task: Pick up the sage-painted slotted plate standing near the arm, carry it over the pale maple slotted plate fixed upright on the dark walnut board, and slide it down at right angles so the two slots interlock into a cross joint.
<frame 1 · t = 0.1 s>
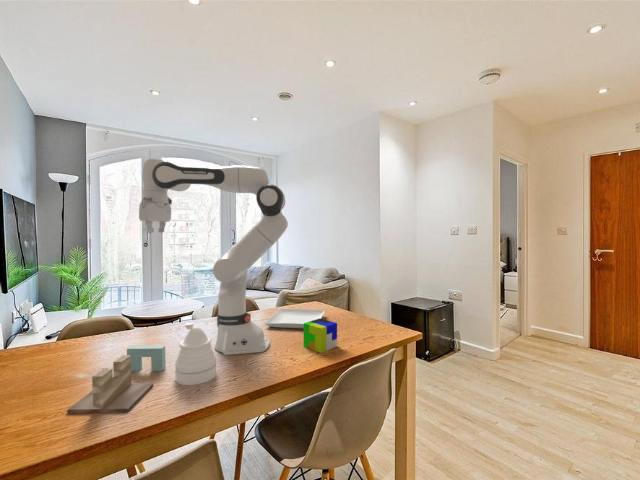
hand: (156, 232, 131), 48 cm above the table, tool pointing down, fingers open, 8 cm apart
puzzle toy: (320, 347, 134), on the table
square plate: (297, 323, 169), on the table
honey pot: (196, 376, 107), on the table
cross plate: (146, 369, 112), on the table
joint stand: (113, 398, 93), on the table
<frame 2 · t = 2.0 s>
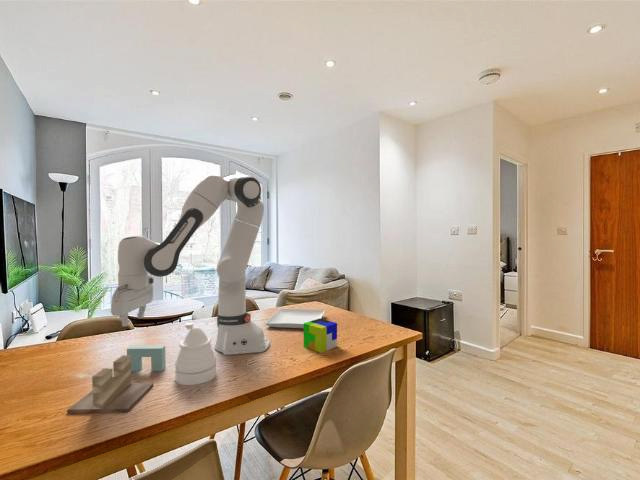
hand: (133, 321, 111), 17 cm above the table, tool pointing down, fingers open, 8 cm apart
nothing on the table moved.
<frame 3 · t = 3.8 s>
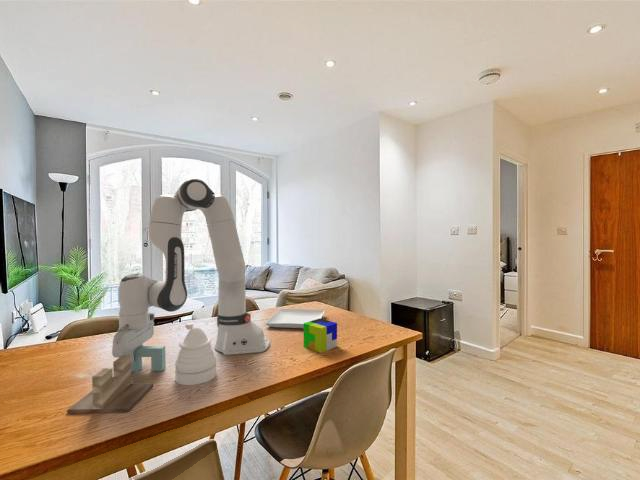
hand: (134, 359, 111), 4 cm above the table, tool pointing down, fingers closed on cross plate, 2 cm apart
cross plate: (146, 369, 112), on the table, touching gripper
everything else where it was.
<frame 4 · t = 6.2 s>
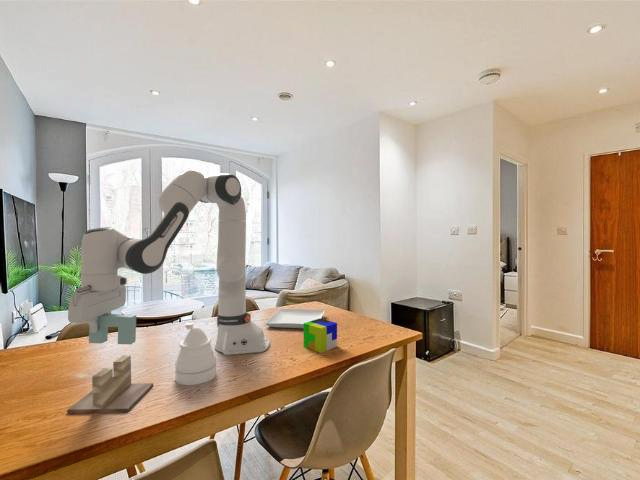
hand: (99, 329, 93), 20 cm above the table, tool pointing down, fingers closed on cross plate, 2 cm apart
cross plate: (112, 342, 93), point 16 cm above the table, touching gripper
everything else where it was.
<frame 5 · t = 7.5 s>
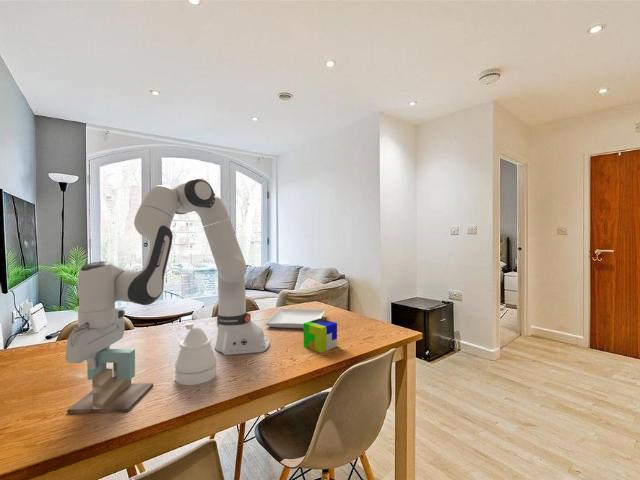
hand: (98, 365, 92), 10 cm above the table, tool pointing down, fingers closed on cross plate, 2 cm apart
cross plate: (111, 377, 93), point 6 cm above the table, touching gripper
everything else where it was.
when the fingers open (6 cm above the table, at t = 8.7 s): cross plate stays where it is, resting on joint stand.
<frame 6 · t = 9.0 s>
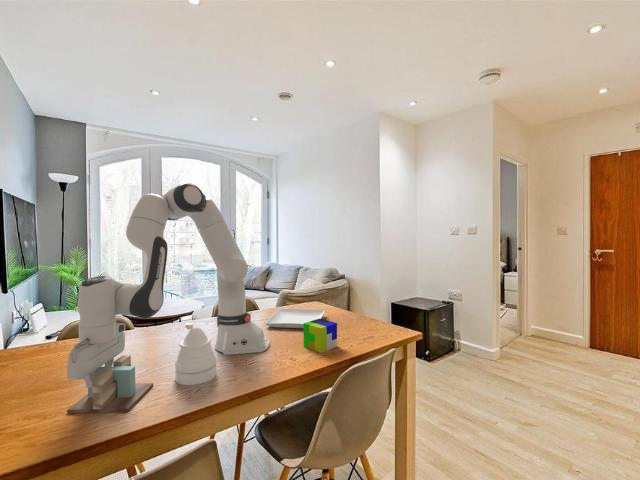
hand: (99, 380, 92), 6 cm above the table, tool pointing down, fingers open, 6 cm apart
cross plate: (112, 395, 93), point 1 cm above the table, touching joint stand
everything else where it was.
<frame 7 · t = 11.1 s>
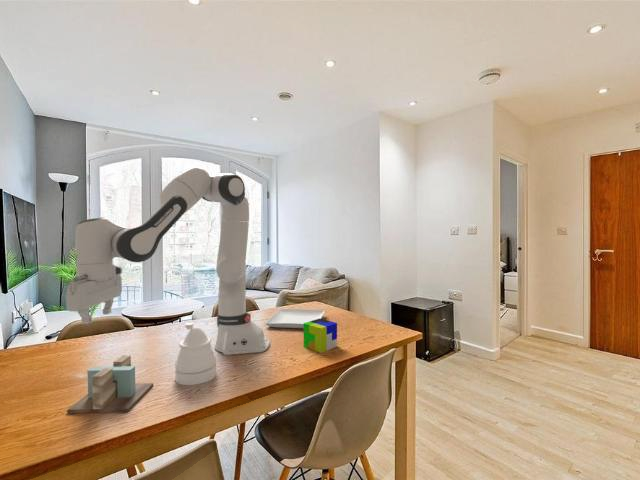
hand: (97, 318, 95), 23 cm above the table, tool pointing down, fingers open, 8 cm apart
nothing on the table moved.
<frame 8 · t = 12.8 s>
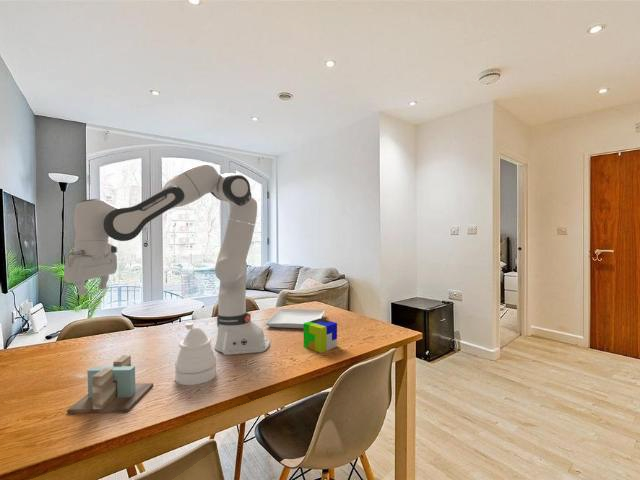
hand: (93, 291, 103), 29 cm above the table, tool pointing down, fingers open, 8 cm apart
nothing on the table moved.
at the end: cross plate 0.4 cm off-centre on the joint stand, point 1.0 cm above the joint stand's base; cross plate tilted 0°; the gripper is holding nothing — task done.
